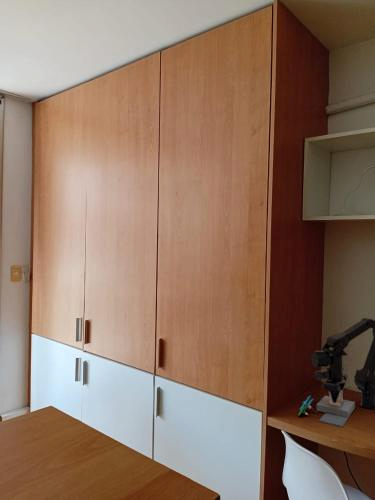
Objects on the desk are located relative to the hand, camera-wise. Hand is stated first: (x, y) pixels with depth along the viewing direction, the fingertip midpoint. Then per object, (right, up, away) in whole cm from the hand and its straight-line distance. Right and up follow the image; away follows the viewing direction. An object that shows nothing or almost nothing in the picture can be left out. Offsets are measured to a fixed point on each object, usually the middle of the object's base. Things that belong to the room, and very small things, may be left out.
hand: (335, 400), depth 168 cm
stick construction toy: (-14, -4, -5) cm, 15 cm away
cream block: (0, -4, 0) cm, 4 cm away
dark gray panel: (-6, -3, -12) cm, 14 cm away
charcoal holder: (0, -4, 0) cm, 4 cm away
